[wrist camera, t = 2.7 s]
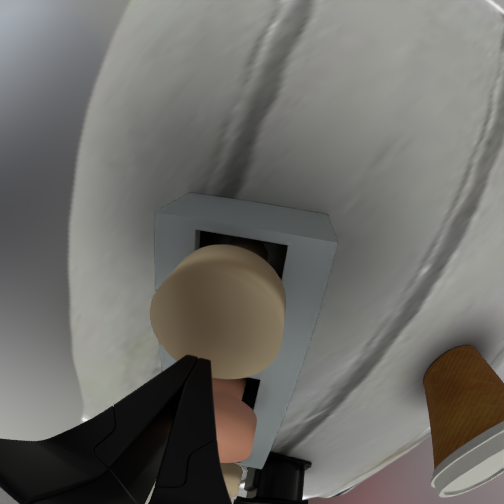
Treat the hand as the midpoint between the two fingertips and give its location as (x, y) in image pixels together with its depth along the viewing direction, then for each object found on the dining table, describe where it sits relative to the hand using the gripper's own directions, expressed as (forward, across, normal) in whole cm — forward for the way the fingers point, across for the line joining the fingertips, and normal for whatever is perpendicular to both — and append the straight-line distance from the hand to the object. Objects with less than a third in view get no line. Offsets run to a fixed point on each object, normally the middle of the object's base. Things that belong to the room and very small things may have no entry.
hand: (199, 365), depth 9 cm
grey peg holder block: (+11, 0, +9) cm, 14 cm away
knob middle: (+9, 0, +9) cm, 13 cm away
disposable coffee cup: (+11, -20, +9) cm, 25 cm away
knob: (+9, 0, 0) cm, 9 cm away
